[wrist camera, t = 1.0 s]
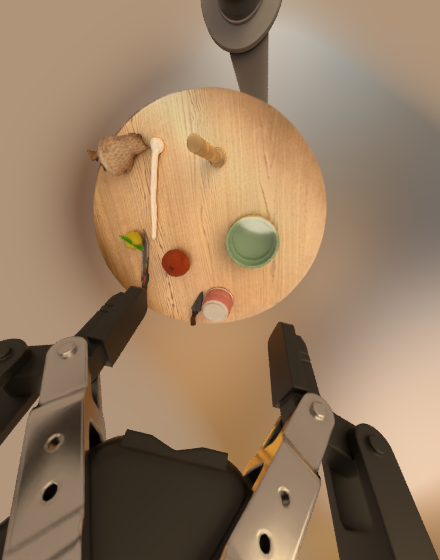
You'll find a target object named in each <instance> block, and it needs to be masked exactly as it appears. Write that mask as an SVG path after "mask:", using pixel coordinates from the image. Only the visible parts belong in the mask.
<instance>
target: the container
mask: <svg viewBox="0 0 440 560" xmlns="http://www.w3.org/2000/svg"><path fill="white" fill-rule="evenodd" d="M233 303H234V299H233V296H232V294H231V293H230V292H229V291H228V290H226V289H224V288H219V287H216V288H212V289H210V290H209V291H208V292H207V294H206V297H205V300H204V302H203V312H204V315H205V317H206V318H207V319H208V320H210V321H213V322H220V321H222V320H224V319H225V318H227V317H228V315H229V314H230V311H231V308H232V306H233Z"/></svg>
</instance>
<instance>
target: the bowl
mask: <svg viewBox="0 0 440 560" xmlns="http://www.w3.org/2000/svg"><path fill="white" fill-rule="evenodd" d="M278 246H279V238H278V232H277V229H276V227H275V226H274V224H273V222H271V221H270V220H269V219H268V218H267V217H264V216H262V215H258V214H250V215H246V216H243V217H242V218H240V219H239V220H237V221H236V222H235V223H234V224H233V226H232V227H231V228H230V229H229V231H228V234H227V236H226V249H227V252H228V254H229V256H230V257H231V259H232V260H233V261H234V262H235V263H237V264H238V265H240V266H242V267H245V268H252V269H253V268H258V267H262V266H264V265H266V264H268V263H269V262H270V261H271V260H272V259H273V258H274V256H275V255H276V253H277V251H278Z"/></svg>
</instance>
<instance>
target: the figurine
mask: <svg viewBox="0 0 440 560" xmlns="http://www.w3.org/2000/svg"><path fill="white" fill-rule="evenodd" d="M147 148H149V147H148V146H147V145H145V144H144V141H143V139H142V136H141V135H140V134H135V133H129V134H128V135H124V136H111V137H106V138H103V139H102V140H101V141H100V142H99V145H98V151H97V152H94V151H87V152H88V154H90V156H91V159H92V160H93V161H94V160H96V161H98V159H100V162H101V165H102V167H103V168H104V171H108V172H109V173H110V174H112V175H115V176H119V175H121V174H123V173H124V171H125V170H126V172H127V173H129V171H130V170H131V168H132V166H133V159H132V158H133V157H134V156H135V155H136V154H140V153H141V152H143V150H145V149H147Z"/></svg>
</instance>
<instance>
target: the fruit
mask: <svg viewBox="0 0 440 560" xmlns="http://www.w3.org/2000/svg"><path fill="white" fill-rule="evenodd" d="M162 265H163V268H164V270H165V271H166V272H167V273H168V274H169V275H171V276H175V277H177V276H181V275H184V274H185V273H186V272H187V271H188V269H189V259H188V257H187V255H186V254H185V253H184V252H182V251H180V250H170V251H168V252H167V253H166V254H165V255H164V257H163V259H162Z"/></svg>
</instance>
